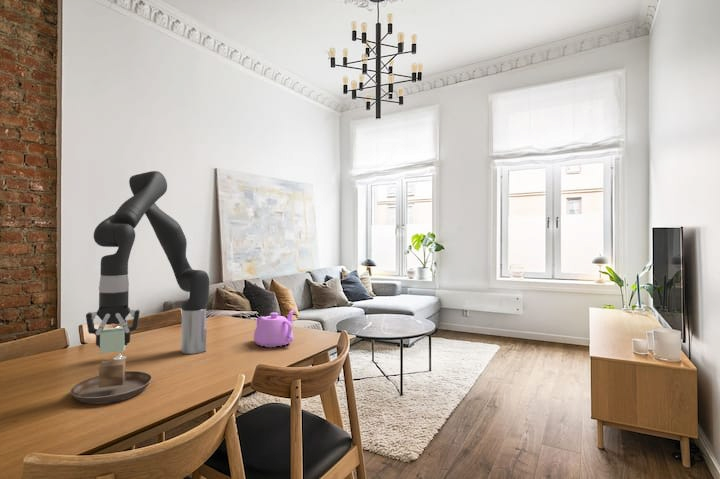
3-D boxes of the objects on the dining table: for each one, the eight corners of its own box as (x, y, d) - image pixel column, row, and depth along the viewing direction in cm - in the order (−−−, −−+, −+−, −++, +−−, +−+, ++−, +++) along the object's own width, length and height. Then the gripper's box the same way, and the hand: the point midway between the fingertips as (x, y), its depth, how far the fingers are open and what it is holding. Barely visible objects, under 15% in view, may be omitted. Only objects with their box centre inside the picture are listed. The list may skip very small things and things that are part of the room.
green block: (125, 346, 124) (126, 326, 124) (123, 351, 118) (124, 331, 118) (103, 348, 121) (103, 328, 121) (99, 353, 116) (100, 332, 116)
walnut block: (125, 378, 123) (125, 358, 123) (122, 384, 118) (122, 364, 118) (102, 380, 121) (102, 361, 121) (98, 387, 116) (98, 367, 115)
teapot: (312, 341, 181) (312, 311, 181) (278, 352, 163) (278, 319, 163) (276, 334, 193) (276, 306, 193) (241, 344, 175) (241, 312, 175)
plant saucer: (92, 414, 106) (92, 402, 106) (57, 397, 116) (57, 385, 116) (165, 390, 123) (165, 379, 123) (129, 376, 134) (129, 367, 134)
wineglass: (120, 361, 149) (120, 328, 149) (107, 359, 150) (107, 328, 150) (132, 356, 155) (132, 325, 155) (119, 355, 156) (119, 324, 156)
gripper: (142, 287, 126) (141, 340, 126) (87, 289, 120) (87, 345, 120) (140, 290, 119) (139, 346, 119) (82, 292, 113) (81, 351, 113)
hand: (113, 345), depth 120 cm, fingers closed on green block, 6 cm apart
